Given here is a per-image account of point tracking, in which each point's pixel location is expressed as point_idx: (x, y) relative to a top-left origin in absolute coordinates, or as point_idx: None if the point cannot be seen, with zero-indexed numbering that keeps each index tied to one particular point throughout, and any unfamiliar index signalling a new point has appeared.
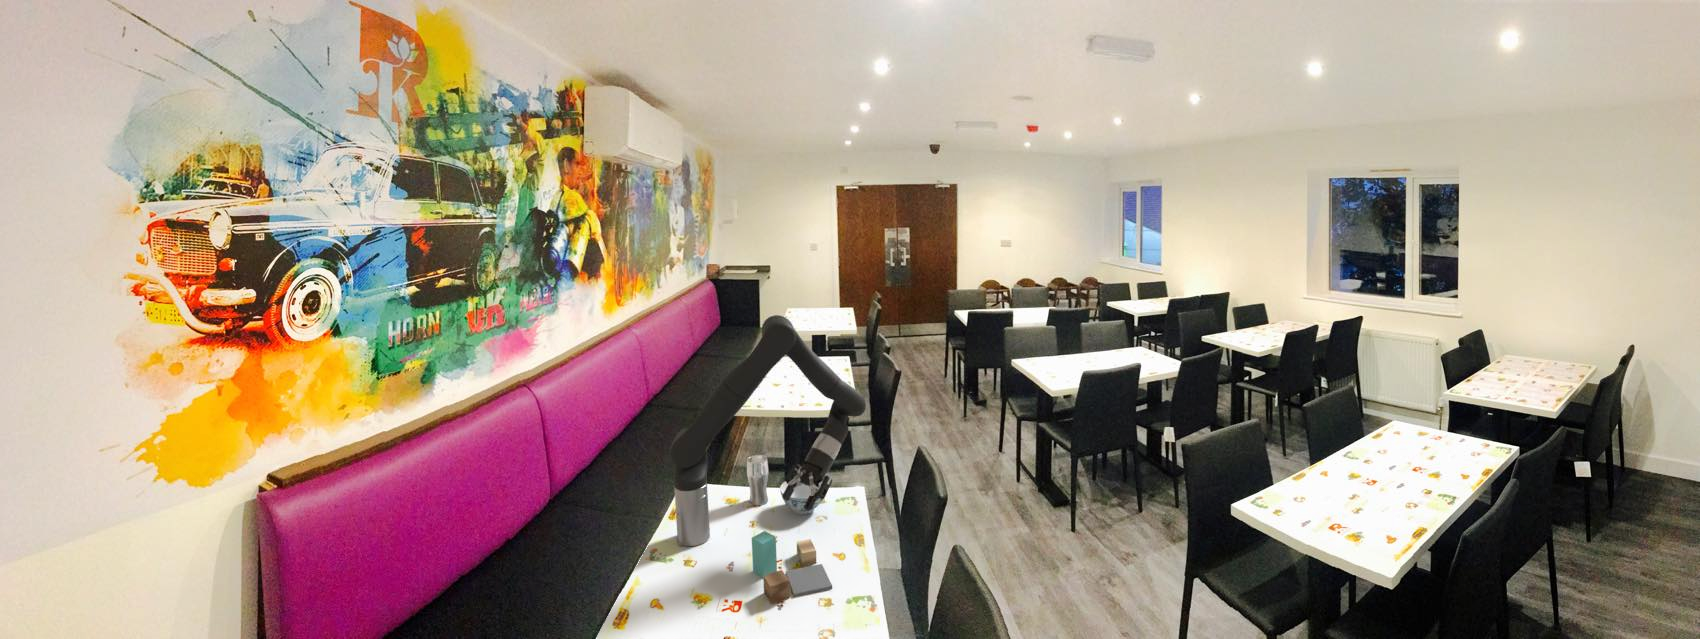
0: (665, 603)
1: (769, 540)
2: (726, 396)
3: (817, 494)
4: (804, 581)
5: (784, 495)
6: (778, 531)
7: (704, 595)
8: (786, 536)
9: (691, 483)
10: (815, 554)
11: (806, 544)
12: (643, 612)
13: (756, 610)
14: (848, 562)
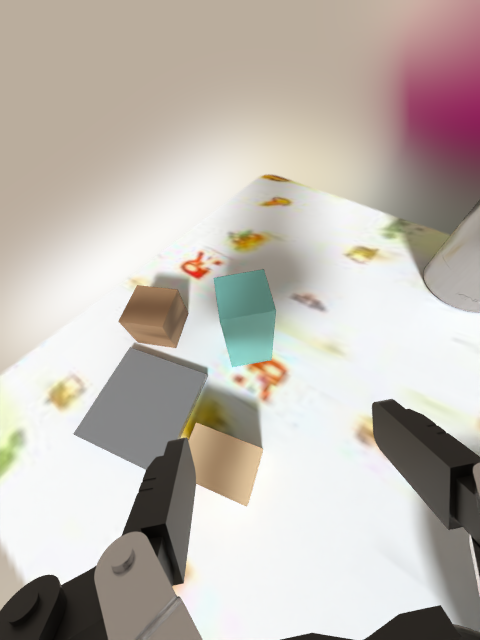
0: (270, 208)
1: (217, 299)
2: None
3: (46, 586)
4: (141, 387)
5: (391, 406)
6: None
7: (252, 245)
8: (377, 487)
9: None
10: None
11: (226, 468)
12: (269, 190)
13: (159, 286)
14: None
